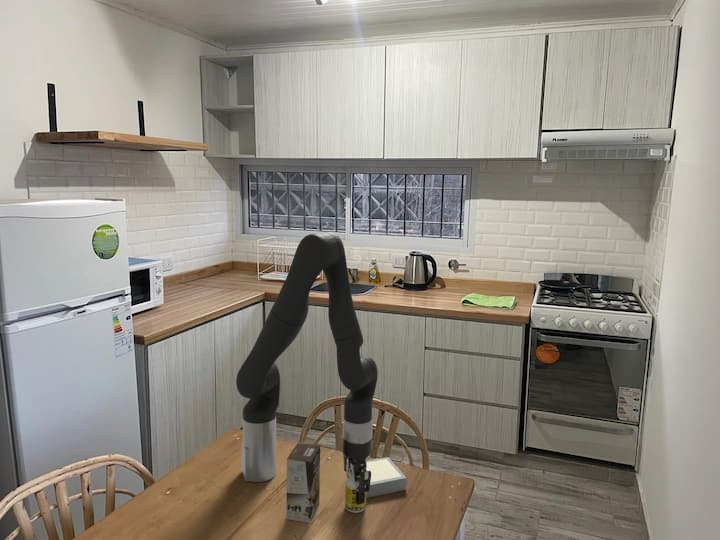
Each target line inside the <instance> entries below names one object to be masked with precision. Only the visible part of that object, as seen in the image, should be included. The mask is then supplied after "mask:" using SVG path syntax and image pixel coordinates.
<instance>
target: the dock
mask: <svg viewBox="0 0 720 540" xmlns="http://www.w3.org/2000/svg"><path fill="white" fill-rule="evenodd" d="M366 463H367V468H366V470H367V471H371V481H370V489H369V491H368V492H366V499H368V498H373V497H376V496H383V495H387V494H391V493H397V492H401V491H406V490H407V476H406V475H405V474H404V473H403V472H402V471H401V470H400V469H399V467H398V466H397V465H396V464H395V463H394V462H393V460H392V459H391V458H390V457H389V456H386V457H381V458H376V459H370V460H369V459H368V460H366Z"/></svg>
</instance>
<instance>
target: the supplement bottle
mask: <svg viewBox="0 0 720 540" xmlns="http://www.w3.org/2000/svg"><path fill="white" fill-rule="evenodd" d="M358 477H360V476H356V478H358ZM344 491H345V494H344V495H345V496H344V497H345V498H344V506H345V509H346V510H347V511H348V512H350V513H354V514H356V513H362V512H363V511H365V510H366V507H367V498H366V492H365V502H364V503H363V504H359V505H357V504H356V485H355V481H353V475H352V471H351V470H350V471H349V478H348V477H347V479H346V480H345V490H344Z"/></svg>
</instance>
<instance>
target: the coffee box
mask: <svg viewBox="0 0 720 540" xmlns="http://www.w3.org/2000/svg"><path fill="white" fill-rule="evenodd" d="M320 475H321V445H319V444H313V443H312V444H311V443H299V442H298V443H296V445H295V446H294V448H293V450H291V451H290V453H289V455H288V456H287V458H286V490H285V491H286V496H285V497H286V500H285V501H286V504H285V505H286V507H285V509H286V511H285V514H286V515H285V516H286V517H285V518H286V520H290V521H296V522H302V523H307V524H309V523H311V520H312V519H313V518H314V517H313V516H314V515H315V512H316V511H317V509H318V507H319V504H320V499H321V498H320V492H321V491H320V489H321V488H320V483H321V481H320V480H321V476H320Z"/></svg>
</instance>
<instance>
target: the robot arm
mask: <svg viewBox="0 0 720 540" xmlns="http://www.w3.org/2000/svg"><path fill="white" fill-rule="evenodd" d="M346 257H347V256H346V251H345V247H344V243H343V241H342V239H341V237H340V236H339V235H337V234H336V233H334V232H331V231H324V232H323V231H321V232H313V233H310V234H307V235H305V236H304V237H303V238H302V239H301V240H300V241H299V243H298V245H297V247H296V250H295V253H294V255H293V259H292V262H291V264H290V267H289V271H288V272H287V276H286V278H285V280H284V282H283V284H282V286H281V288H280V290H279V293H278V295H277V297H276V299H275V300H274V303H273V304H272V306H271V309H270V311H269V313H268V315H267V317H266V320H265V322H264V325H263V326H262V328H261V330H260V333H259V335H258V337H257V339H256V341H255V342H254V345H253V347H252V348H251V350H250V352H249V354H247V357H246V359H245V360H244V362H243V363H242V365H241V367H239V370H238V372H237V374H236V380H235V383H236V384H235V385H236V389H237V392H238V393H239V395H240V396H242V397H243V398H246V399H249V400H248V401H247V403H246V404H245V405H244V407H243V409H242V439H241V473H242V476H243V479H244V482H246V483H247V482H251V483H252V482H253V483H262V482H267V481H270V480H272V479H274V477H275V476H276V474H277V411H278V408H279V405H280V397H281V393H280V392H281V374H280V370H279V368H278V365H277V364H276V361H277V360H278V359H279V358H280V356H281V355H282V354H283V353H284V352H285V351H286V350H288V349H287V348H289V347H290V346H291V345H292V343H293V342H294V341H295V340H296V338H297V337H298V335H299V333H300V332H301V330H302V328H303V326H304V324H305V322H306V320H307V317H308V314H309V304H310V303H309V298H310V297H309V296H310V292H311V290H312V287H313V285H314V283H315V282H316V280H317V278H318V276H319V275H320V274H321V272H322V271H323V273H324V276H325V279H326V282H327V288H328V308H327V309H328V311H327V312H328V313H327V315H328V316H327V317H328V323H329V326H330V327H329V328H330V330H331V334H332V337H333V340H334V343H335V346H336V363H337V372H338V373H337V374H338V376H339V377H338V378H339V380H340V382H341V383H342V385H343V386H344V387H345V388H346V389H348V390H350V391H349V392H348V394H347V395H346V396H345V398H344V402H343V403H344V404H343V405H344V406H343V423H342V433H341V434H342V439H341V440H342V441H341V443H342V444H341V448H342V449H341V451H342V454H343V470H344V472H345V473H346V475H345V476H346V478H347V479H348V478H349V471H350V470H351V471H352V475H353V481H355V485H356V504H357V505H359V504H363V503H364V502H365V492H368V491H369V489H370V481H371V471H367V470H366V468H367V463H366V461H367V460H366V459H367V458H369V456H371V454H372V452H373V451H372V450H373V421H372V419H373V400H374V396H375V393H376V391H375V390H376V387H377V383H378V374H379V371H378V365H377V363H376V362H375V360H374V359H373V358H372V357H371V356H369V355H365V354H364V355H361V354H360V353H361V352H360V350H361V347H362V346H363V344H364V335H363V334H362V329H361V326H360V323H359V319H358V317H357V312H356V309H355V305H354V302H353V295H352V291H351V284H350V278H349V273H348V272H349V271H348V270H349V269H348V264H347V258H346ZM356 476H360V477H358V478H356Z"/></svg>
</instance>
